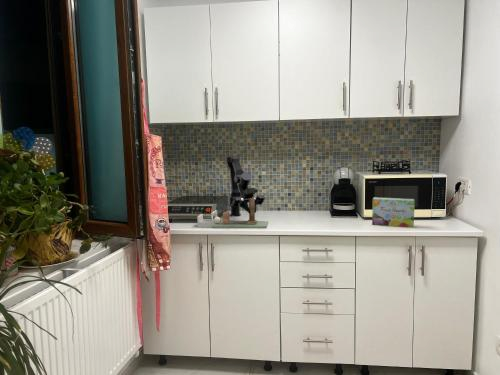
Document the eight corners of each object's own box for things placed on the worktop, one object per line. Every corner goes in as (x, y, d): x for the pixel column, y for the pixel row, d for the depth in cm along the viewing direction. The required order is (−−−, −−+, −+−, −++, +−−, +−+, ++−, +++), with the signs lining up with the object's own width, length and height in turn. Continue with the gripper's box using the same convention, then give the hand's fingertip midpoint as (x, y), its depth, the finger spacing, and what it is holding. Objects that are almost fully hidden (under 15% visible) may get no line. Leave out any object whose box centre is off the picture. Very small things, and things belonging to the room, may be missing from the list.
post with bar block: (223, 222, 211) (222, 197, 209) (256, 222, 209) (256, 197, 207) (221, 223, 206) (221, 198, 205) (256, 224, 204) (255, 198, 202)
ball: (219, 223, 211) (213, 221, 211) (222, 217, 210) (216, 214, 211) (218, 225, 207) (212, 222, 207) (221, 219, 206) (215, 216, 207)
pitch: (203, 222, 217) (202, 209, 216) (268, 222, 213) (267, 209, 212) (197, 227, 203) (196, 213, 203) (266, 228, 199) (266, 213, 198)
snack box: (371, 225, 201) (372, 198, 200) (372, 223, 207) (373, 196, 205) (413, 228, 193) (414, 199, 191) (413, 225, 198) (414, 198, 196)
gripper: (233, 183, 204) (241, 205, 195) (263, 181, 211) (272, 202, 203) (228, 195, 212) (236, 217, 203) (257, 193, 219) (266, 214, 211)
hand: (252, 212), depth 205 cm, fingers closed on post with bar block, 3 cm apart
